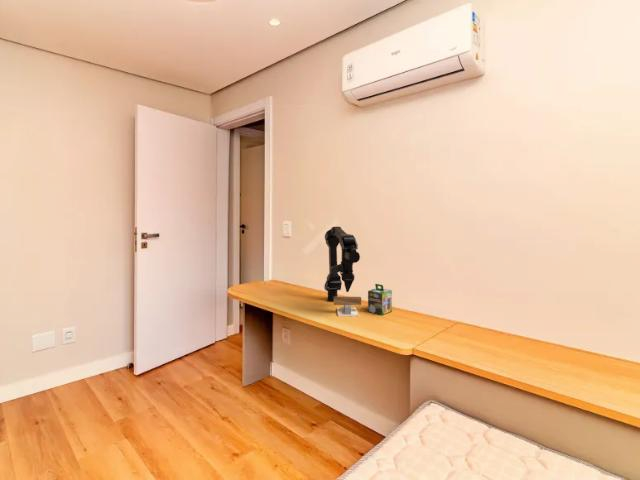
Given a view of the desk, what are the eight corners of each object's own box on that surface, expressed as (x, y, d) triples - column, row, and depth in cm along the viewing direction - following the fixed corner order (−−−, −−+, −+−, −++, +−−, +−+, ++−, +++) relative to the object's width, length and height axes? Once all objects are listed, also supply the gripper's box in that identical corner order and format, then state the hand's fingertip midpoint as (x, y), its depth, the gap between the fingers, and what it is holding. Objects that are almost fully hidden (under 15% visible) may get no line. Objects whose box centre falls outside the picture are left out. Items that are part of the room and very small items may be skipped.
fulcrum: (337, 309, 188) (337, 300, 187) (355, 309, 187) (356, 301, 187) (337, 316, 176) (338, 307, 175) (358, 316, 175) (358, 307, 175)
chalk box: (392, 311, 183) (392, 283, 182) (382, 315, 177) (382, 286, 175) (377, 308, 190) (378, 281, 188) (367, 311, 183) (367, 283, 182)
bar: (333, 303, 183) (333, 296, 182) (360, 303, 183) (360, 296, 182) (333, 304, 179) (333, 298, 179) (361, 305, 179) (361, 298, 179)
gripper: (330, 256, 189) (330, 285, 191) (331, 262, 171) (331, 294, 172) (351, 257, 189) (351, 285, 191) (354, 262, 171) (354, 294, 172)
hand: (346, 289), depth 182 cm, fingers open, 9 cm apart
